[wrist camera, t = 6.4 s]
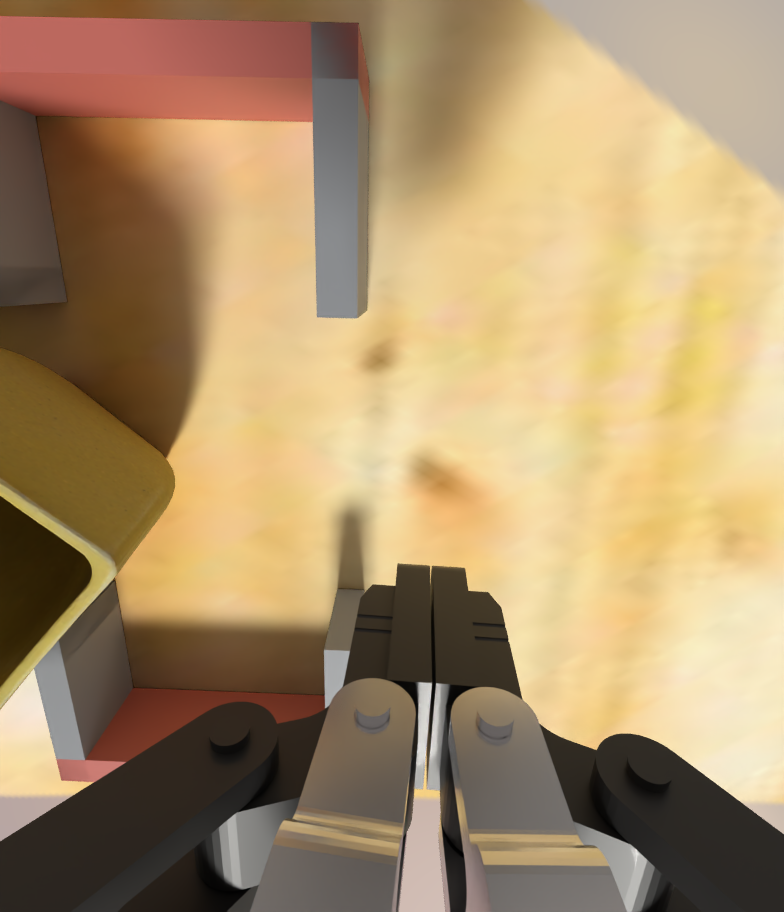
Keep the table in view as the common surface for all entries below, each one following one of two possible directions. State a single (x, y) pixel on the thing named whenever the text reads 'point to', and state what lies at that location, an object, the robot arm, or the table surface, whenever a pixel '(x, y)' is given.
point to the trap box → (41, 281)
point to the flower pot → (63, 508)
